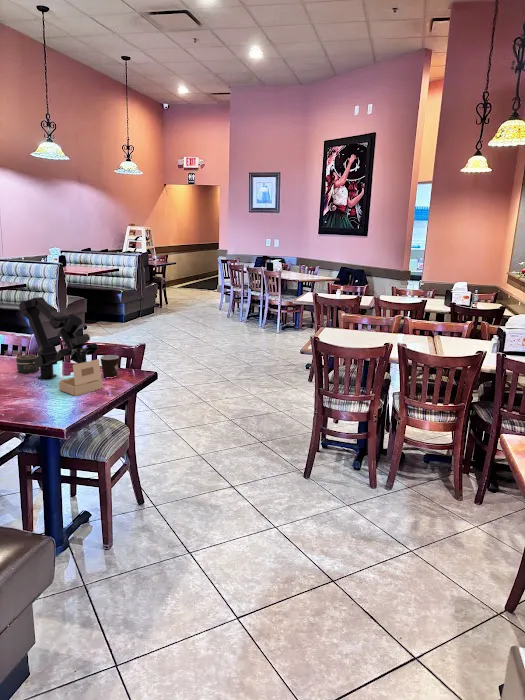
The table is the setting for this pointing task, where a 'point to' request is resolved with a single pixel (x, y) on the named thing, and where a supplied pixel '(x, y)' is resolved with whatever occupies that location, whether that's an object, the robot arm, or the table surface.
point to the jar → (26, 364)
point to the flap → (86, 372)
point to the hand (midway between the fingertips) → (86, 367)
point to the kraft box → (79, 386)
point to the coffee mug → (109, 365)
